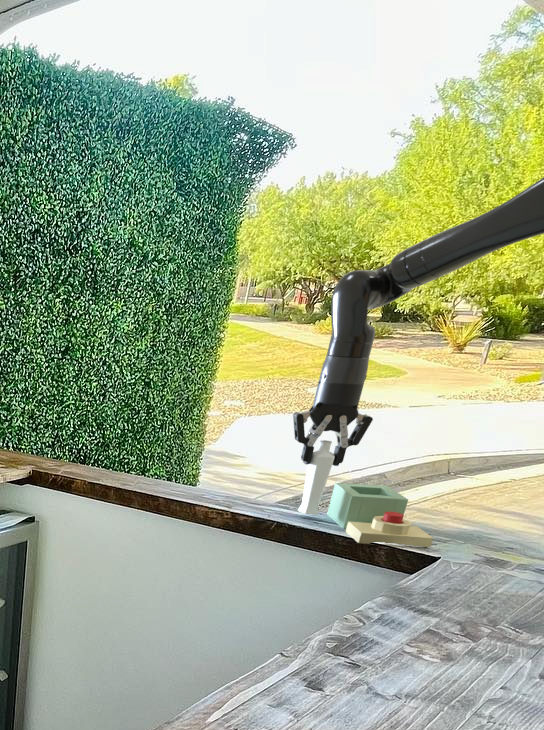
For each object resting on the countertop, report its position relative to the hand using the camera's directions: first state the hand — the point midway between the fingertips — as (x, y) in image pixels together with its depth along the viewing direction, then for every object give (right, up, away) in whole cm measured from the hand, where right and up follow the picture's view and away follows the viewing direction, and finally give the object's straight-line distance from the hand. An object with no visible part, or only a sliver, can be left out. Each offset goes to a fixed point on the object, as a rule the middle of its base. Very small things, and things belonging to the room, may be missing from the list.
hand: (320, 463), depth 156 cm
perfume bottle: (0, -10, +4) cm, 11 cm away
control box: (+8, -16, -8) cm, 19 cm away
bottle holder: (+9, -12, +1) cm, 15 cm away
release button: (+8, -13, -9) cm, 17 cm away
